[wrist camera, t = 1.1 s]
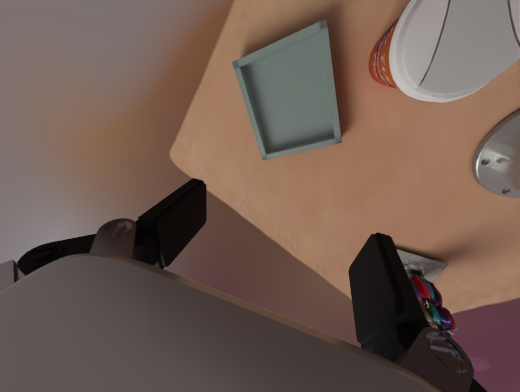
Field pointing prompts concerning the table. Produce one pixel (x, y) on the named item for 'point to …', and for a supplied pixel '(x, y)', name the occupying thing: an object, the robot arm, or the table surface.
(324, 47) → the tray
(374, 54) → the paper cup
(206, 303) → the robot arm
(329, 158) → the table surface
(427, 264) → the statue
